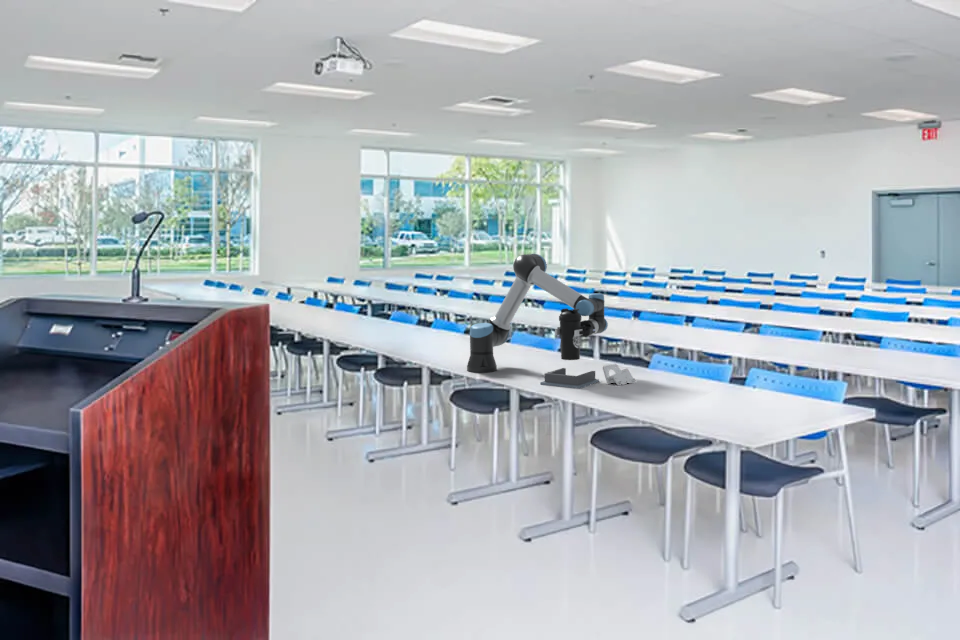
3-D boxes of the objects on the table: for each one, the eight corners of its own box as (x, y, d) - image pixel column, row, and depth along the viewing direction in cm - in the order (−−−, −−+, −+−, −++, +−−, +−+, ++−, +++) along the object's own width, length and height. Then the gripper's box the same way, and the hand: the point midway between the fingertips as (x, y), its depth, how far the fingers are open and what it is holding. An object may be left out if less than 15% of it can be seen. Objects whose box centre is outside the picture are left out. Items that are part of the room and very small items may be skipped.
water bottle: (574, 361, 361) (574, 310, 358) (555, 359, 367) (554, 309, 364) (585, 358, 369) (585, 308, 366) (566, 356, 375) (566, 307, 372)
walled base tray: (540, 384, 366) (540, 373, 366) (561, 377, 383) (561, 367, 382) (579, 388, 355) (579, 377, 355) (599, 381, 372) (599, 371, 371)
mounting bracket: (627, 385, 371) (621, 363, 374) (636, 382, 366) (630, 359, 369) (608, 388, 364) (602, 366, 367) (617, 385, 359) (610, 362, 362)
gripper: (608, 337, 376) (587, 342, 357) (567, 334, 388) (544, 339, 369) (608, 321, 375) (587, 325, 356) (567, 318, 387) (544, 323, 368)
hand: (565, 332), depth 363 cm, fingers closed on water bottle, 9 cm apart
